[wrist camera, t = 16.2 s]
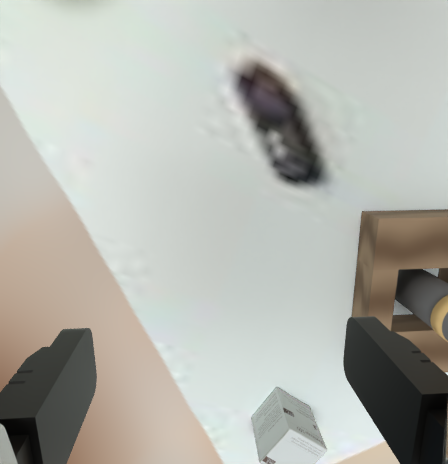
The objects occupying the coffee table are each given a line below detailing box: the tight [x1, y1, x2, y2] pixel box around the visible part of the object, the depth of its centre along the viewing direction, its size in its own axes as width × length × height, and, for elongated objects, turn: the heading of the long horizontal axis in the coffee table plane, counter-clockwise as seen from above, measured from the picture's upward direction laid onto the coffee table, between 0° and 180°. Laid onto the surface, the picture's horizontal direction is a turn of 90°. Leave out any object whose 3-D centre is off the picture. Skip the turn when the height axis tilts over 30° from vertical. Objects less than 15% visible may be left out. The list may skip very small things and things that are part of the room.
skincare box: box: [251, 387, 327, 464], centre depth 45 cm, size 6×6×7 cm
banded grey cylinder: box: [395, 269, 448, 342], centre depth 39 cm, size 5×5×11 cm
